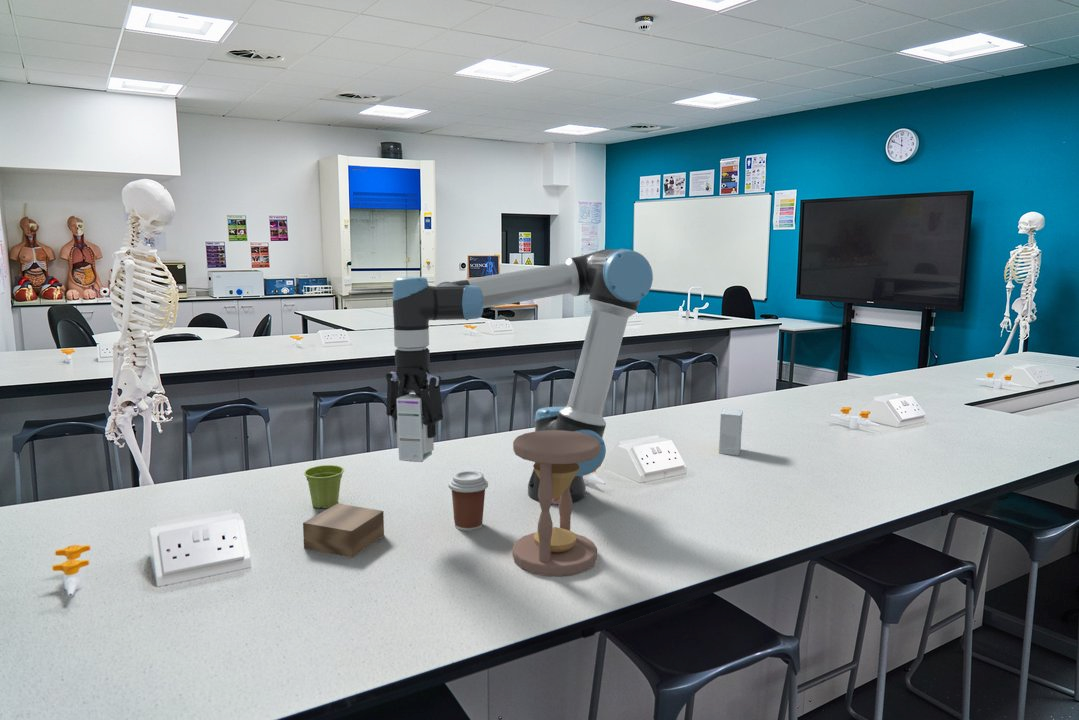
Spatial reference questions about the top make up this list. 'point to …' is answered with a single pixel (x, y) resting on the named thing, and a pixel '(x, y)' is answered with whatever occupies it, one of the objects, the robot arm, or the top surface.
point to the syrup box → (410, 428)
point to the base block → (343, 530)
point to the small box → (730, 431)
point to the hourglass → (556, 470)
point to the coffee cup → (468, 499)
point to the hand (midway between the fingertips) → (415, 448)
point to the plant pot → (324, 484)
